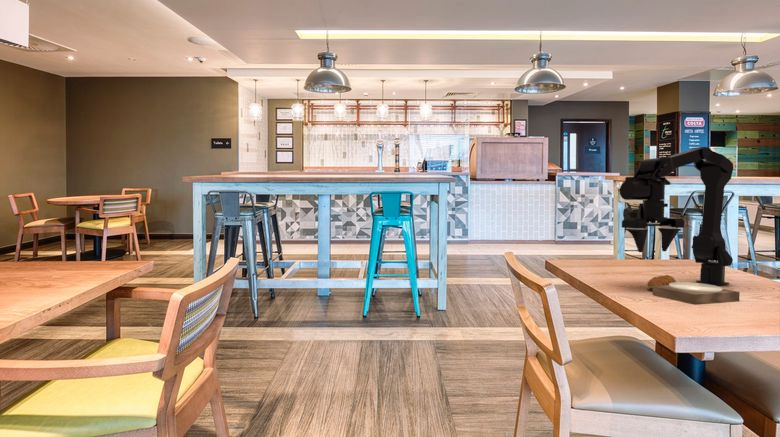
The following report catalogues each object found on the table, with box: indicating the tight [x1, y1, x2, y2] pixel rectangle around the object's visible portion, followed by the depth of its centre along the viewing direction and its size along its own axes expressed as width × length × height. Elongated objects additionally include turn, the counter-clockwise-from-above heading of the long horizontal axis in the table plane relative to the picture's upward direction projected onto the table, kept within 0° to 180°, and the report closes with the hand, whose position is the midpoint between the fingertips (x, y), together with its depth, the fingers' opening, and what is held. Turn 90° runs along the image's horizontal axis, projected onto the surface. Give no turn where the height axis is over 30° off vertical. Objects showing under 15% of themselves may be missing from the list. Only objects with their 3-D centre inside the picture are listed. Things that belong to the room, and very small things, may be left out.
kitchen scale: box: [652, 281, 741, 305], centre depth 131 cm, size 16×13×3 cm
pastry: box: [646, 274, 677, 289], centre depth 142 cm, size 9×7×4 cm
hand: (652, 251), depth 143 cm, fingers open, 9 cm apart
